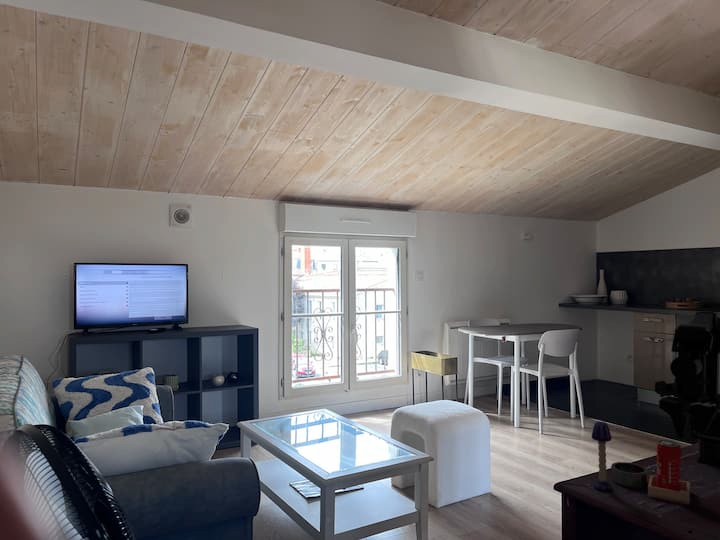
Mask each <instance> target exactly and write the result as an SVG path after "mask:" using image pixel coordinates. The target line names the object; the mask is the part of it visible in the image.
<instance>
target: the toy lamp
mask: <svg viewBox="0 0 720 540" xmlns="http://www.w3.org/2000/svg"><path fill="white" fill-rule="evenodd" d="M591 439H593V440H594V441H597V444H598V447H597V449H598V453H597V454H598V469H599V470H598V475H599V476H598V480H597V481H596V482H595V483H594V485H593V488H594V489H595V490H596V491H599V492H602V491H603V492H604V493H610V492H612V491H613V486H612V485H611V484H610V483H611V482H609V481H607V479H608V478H607V458H606V457H607V453H606V452H607V447H606V444H607V442H611V441H612V434H611V430H610V428H609V424H608V422H605V421H595V423H594V425H593V428H592V433H591Z"/></svg>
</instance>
